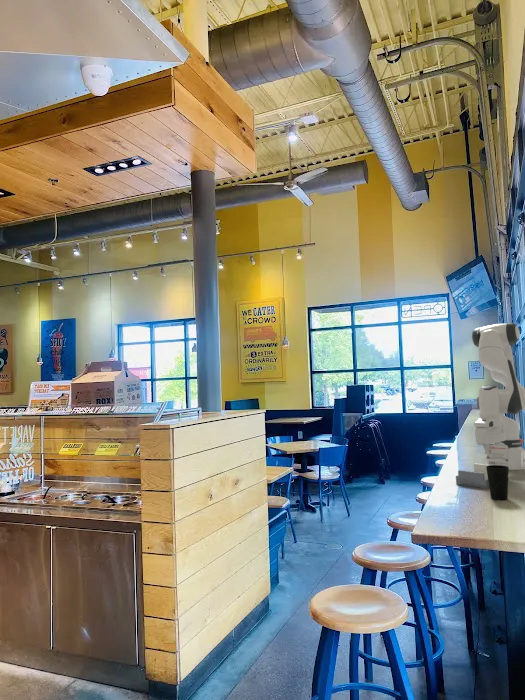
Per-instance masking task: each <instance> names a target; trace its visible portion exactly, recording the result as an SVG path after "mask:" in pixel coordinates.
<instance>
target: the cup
mask: <svg viewBox="0 0 525 700" xmlns="http://www.w3.org/2000/svg"><path fill="white" fill-rule="evenodd" d="M486 469H487V475H488V482H489V488H488V489H489V495H490V499H491V500H492V499H493V501H498V500H500V501H501V502H503V501H507V500H508V498H509V497H508V493H509V492H508V491H509V471H510V470H509V467H507V466H501V465H489V466H486ZM500 501H499V502H500Z"/></svg>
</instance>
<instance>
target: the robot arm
mask: <svg viewBox="0 0 525 700" xmlns="http://www.w3.org/2000/svg"><path fill="white" fill-rule="evenodd" d="M520 335H521V334H520V329H519V327H518V325H517V324H516V323H515V322H507V323H495V324H491V325H486V326H482V327H477V328H474V329H473V331H472V332H471V341H472V343H473V344H474V347H475V346H476V347H477V348H478V361H479V363H480V365H482V366H483V368H485V369H487V370H489V371H490V378H491V379H492V380H493V381H494V382H497V383H499V384H501V385H503V386H504V388H501V389H499V388H498V386H496V385H492V384H488V385H487V384H486V385H482V386H480V387H479V388H478V394H477V396H476V403H477V409H478V410H479V415H478V417H479V418H478V419H477V420H476V421H474V422H473V424H474V425H473V426H474V427H475V430H474V431H475V432H474V435H475V442H476V444H477V445H481V446H482V448H483V449H484V454H485V455H486V454H491V450H489V444H499V445H507V446H508V467H509V471H510V470H511V471H516V470H517V471H519V470H520V471H521V470H522V471H523V470H525V449H524V448H523V447H522V446H523V443H524V439H522V438H520V428H519V427H520V426H519V424H518V422H517V421H516V420H515V419H513V418H511V417H508V416H506V415H505V414H508V415H517V414H518V413H520V412H522V411H525V387H524V386H523V385H521V383H520V382H519V380H518V378H517V376H516V370H515V362H514V354H513V350H512V348H513V347H514V346H515V344H517V343H518V342H519V340H520Z"/></svg>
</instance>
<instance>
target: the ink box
mask: <svg viewBox="0 0 525 700" xmlns="http://www.w3.org/2000/svg"><path fill="white" fill-rule="evenodd" d="M489 450H491V454H485V455H486V457H485V458H486V460H485V465H501V466H507V467H508V446H507V445H499V444H494V443H492V444H489Z"/></svg>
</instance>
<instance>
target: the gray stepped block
mask: <svg viewBox="0 0 525 700" xmlns="http://www.w3.org/2000/svg"><path fill="white" fill-rule="evenodd" d="M457 473H458V474H457V475H455V484H456V485H458V486H465V487H474V488H480V489H490V488H489V482H488V478H487V479H485V478H484V473H479V472H474V470H473V471H471V470H462V469H458V471H457Z"/></svg>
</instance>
